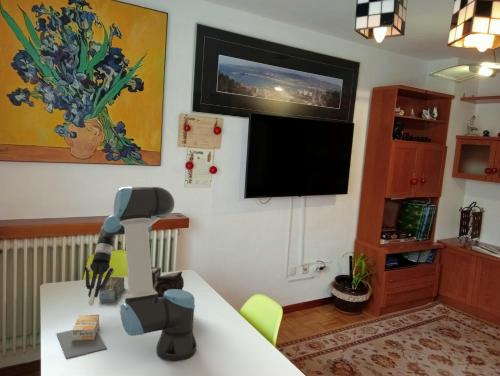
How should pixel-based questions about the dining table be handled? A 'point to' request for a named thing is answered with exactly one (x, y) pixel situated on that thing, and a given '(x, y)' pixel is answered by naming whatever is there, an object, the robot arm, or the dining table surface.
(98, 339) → the mat
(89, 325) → the supplement box
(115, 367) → the dining table surface
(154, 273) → the coffee box
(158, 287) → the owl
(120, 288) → the beverage carton
